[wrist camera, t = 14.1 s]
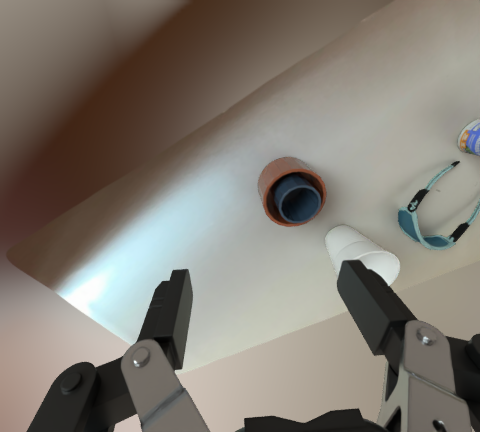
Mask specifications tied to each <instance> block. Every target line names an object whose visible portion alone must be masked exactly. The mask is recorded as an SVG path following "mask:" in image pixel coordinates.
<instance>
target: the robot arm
mask: <svg viewBox="0 0 480 432" xmlns="http://www.w3.org/2000/svg"><path fill="white" fill-rule="evenodd" d="M337 289H338V292H339V294H340V296H341V298H342V300H343V301H344V303H345V305H346V307H347V308H348V310H349V312H350V314H351V315H352V317H353V319H354V321H355V323H356V324H357V326H358V328H359V330H360V332H361V333H362V335H363V337H364V339H365V340H366V342H367V344H368V346H369V348H370V349H371V351H372V353H373V354H374V356H375V355H385V357H386V359H387V362H386V366H385V375H384V385H383V394H382V403H381V409H380V412H379V416H378V419H377V423H374V422H372V421H369V420H367V419H363V418H362V415H361V413H360V410H359V409H346V410H335V411H330V412H327V413H325V414H323V415H321V416H319V417H317V418H315V419H313V420H311V421H309V422H306V423H300V422H296V421H292V420H288V419H283V418H280V417H276V416H265V417H253V418H245V419H244V424H245V427H243V428H241V429H239V430H237V431H236V432H472V429H471V426H472V428H473V429H474V431H475V432H480V334H476V335H474V336H473V337H472V338H471V340H470V341H466V340H461V339H457V338H452V337H448V336H444V335H443V334H442V333H441V332H440V331H439V330H438V329H437V328H435V327H434V326H432V325H430V324H428V323H426V322H423V321H419V320H417V318H416V317H415V316H414V315H413V314H412V312H411V311H410V310H409V309H408V308H407V306H406V305H405V304H404V303H403V302H402V300H401V299H400V298H399V297H398V296H397V295H396V293H394V291H393V290H392V289H391V287H390V286H388V284H387V283H386V281H385V280H384V279H383V278H382V277H381V276H380V275H379V274H377V273H376V272H375V271H373V270H372V269H367V268H366V267H365V265H364V264H363V263H362V262H361V261H360V260H358V259H356V260H344V261H342V264H341V268H340V272H339V276H338V280H337ZM192 301H193V292H192V285H191V280H190V274H189V270H188V269H181V270H173V271H172V274H171V277H170V281H162V282H161V283H160V284H159V286H158V287H157V288H156V289H155V292H154V295H153V297H152V301H151V303H150V306H149V309H148V312H147V314H146V317H145V320H144V323H143V326H142V329H141V332H140V334H139V337H138V340H137V342H136V343H135V344H134V345H132V346H131V347H130V348H129V349H128V350H127V351H126V353H125V354H124V356H122V357H120V358H118V359H116V360H114V361H111V362H109V363H106V364H103V365H101V366H98V367H94V365H93V364H91V363H89V362H81V363H77V364H75V365H72V366H71V367H69V368H67V369H66V370H65V371H64V372H62V373H61V374H60V375H59V376H58V377H57V378H56V380H55V381H54V382H53V384H52V385H51V387H50V389H49V391H48V393H47V395H46V396H45V398H44V401H43V402H42V404H41V406H40V408H39V410H38V412H37V414H36V415H35V417H34V419H33V421H32V423H31V424H30V426H29V428H28V430H27V432H113V431H114V428H115V424H116V423H118V422H120V421H122V420H125V419H127V418H129V417H131V416H133V415H135V414H138V416H139V419H140V422H141V429H142V432H210V430H209V429H208V427H207V425H206V423H205V421H204V420H203V418H202V416H201V414H200V413H199V411H198V409H197V408H196V405H195V404H194V402H193V400H192V398H191V397H190V395H189V393H188V392H187V390H186V389H185V388H183V386H182V385H181V383H180V381H179V379H178V378H177V376H176V374H175V370H180V369H182V367H183V360H184V354H185V347H186V341H187V334H188V328H189V321H190V315H191V308H192Z"/></svg>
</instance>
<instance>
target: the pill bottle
mask: <svg viewBox="0 0 480 432" xmlns="http://www.w3.org/2000/svg"><path fill="white" fill-rule="evenodd" d="M458 147H459V149H460V150H461V151H463V152H466V153H470V154H474V155H478V156H480V119H477V120H475V121H473V122H471V123H470V124H468V125H467V126H466V127H465V128H464V129H463V130H462V132H461V134H460V136H459V138H458Z"/></svg>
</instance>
